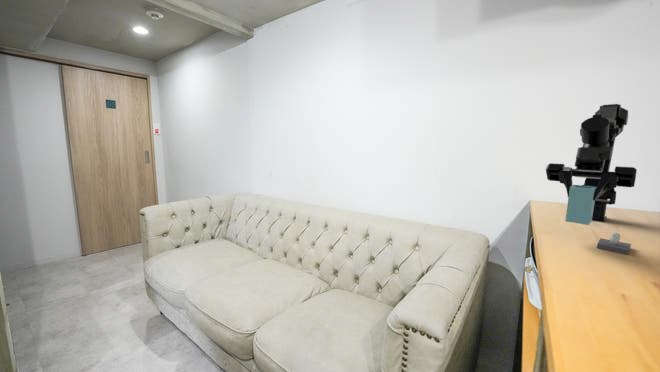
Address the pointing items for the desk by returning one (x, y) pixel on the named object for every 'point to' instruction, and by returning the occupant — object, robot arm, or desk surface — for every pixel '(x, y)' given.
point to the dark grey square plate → (614, 244)
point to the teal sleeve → (580, 204)
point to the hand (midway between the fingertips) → (581, 197)
